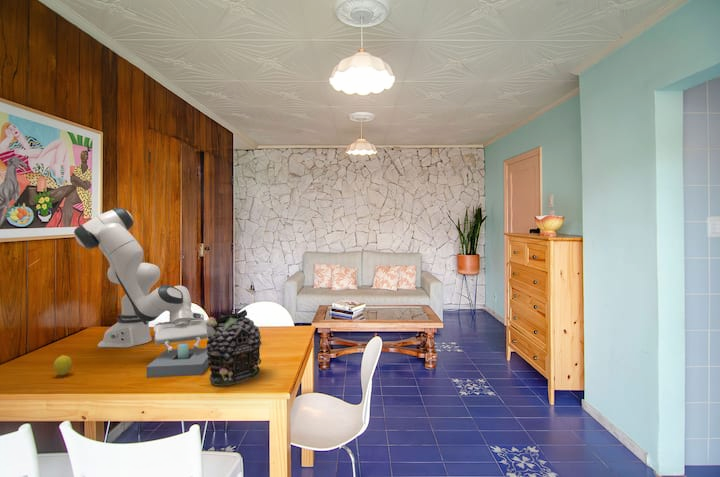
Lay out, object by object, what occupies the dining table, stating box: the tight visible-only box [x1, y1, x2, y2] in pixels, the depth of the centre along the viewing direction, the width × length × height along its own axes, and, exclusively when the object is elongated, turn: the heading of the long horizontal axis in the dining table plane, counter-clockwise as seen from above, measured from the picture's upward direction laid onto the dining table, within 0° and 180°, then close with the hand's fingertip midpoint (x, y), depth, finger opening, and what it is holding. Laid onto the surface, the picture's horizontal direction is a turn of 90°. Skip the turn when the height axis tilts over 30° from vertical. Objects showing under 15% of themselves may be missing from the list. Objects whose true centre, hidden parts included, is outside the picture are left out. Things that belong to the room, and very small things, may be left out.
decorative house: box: [205, 309, 263, 386], centre depth 142 cm, size 21×15×25 cm
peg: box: [177, 342, 190, 359], centre depth 154 cm, size 4×4×9 cm
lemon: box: [53, 354, 73, 377], centre depth 144 cm, size 6×6×8 cm
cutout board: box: [146, 347, 210, 378], centre depth 154 cm, size 20×20×4 cm
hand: (183, 349), depth 153 cm, fingers open, 8 cm apart
